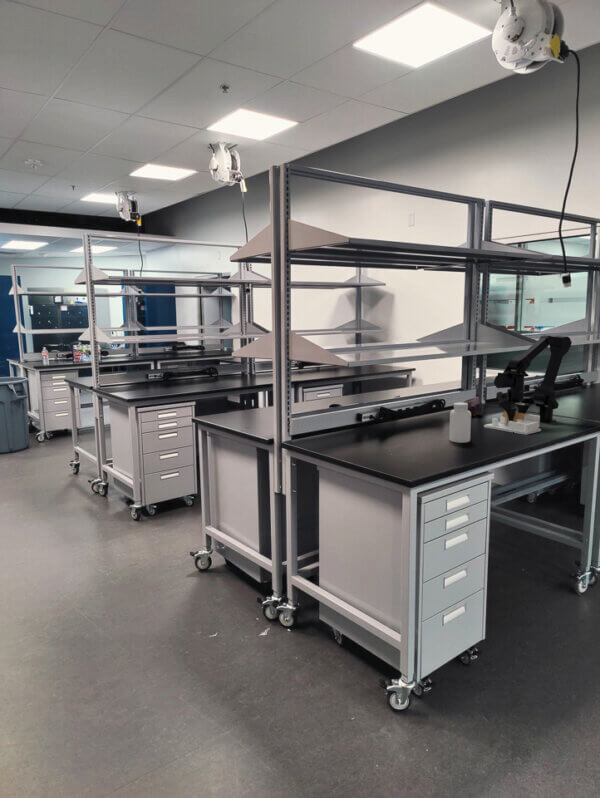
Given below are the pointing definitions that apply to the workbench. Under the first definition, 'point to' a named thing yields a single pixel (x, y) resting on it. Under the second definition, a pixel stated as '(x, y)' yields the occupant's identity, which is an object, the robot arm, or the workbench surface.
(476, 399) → the rock
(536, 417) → the two-tone rectangular block
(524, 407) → the robot arm
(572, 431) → the workbench surface
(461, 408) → the pill bottle
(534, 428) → the board
